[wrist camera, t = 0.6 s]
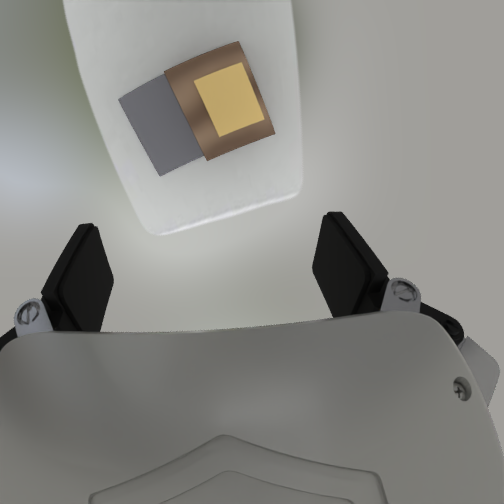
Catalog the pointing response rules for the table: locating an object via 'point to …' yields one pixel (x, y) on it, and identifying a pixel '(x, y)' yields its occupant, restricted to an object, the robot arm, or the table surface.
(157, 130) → the charcoal mat
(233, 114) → the ochre tile
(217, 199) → the table surface
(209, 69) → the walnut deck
